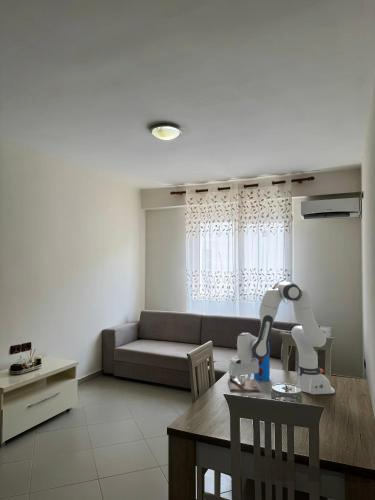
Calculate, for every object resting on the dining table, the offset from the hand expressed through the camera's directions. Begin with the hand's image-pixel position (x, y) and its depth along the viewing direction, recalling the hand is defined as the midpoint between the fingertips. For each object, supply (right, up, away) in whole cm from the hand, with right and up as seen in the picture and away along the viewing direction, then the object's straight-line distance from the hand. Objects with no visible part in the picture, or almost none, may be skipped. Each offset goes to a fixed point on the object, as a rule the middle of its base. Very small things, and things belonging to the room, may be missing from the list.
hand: (243, 381), depth 217 cm
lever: (-3, -4, +7) cm, 9 cm away
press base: (+1, -6, +7) cm, 9 cm away
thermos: (+16, -7, +23) cm, 29 cm away
